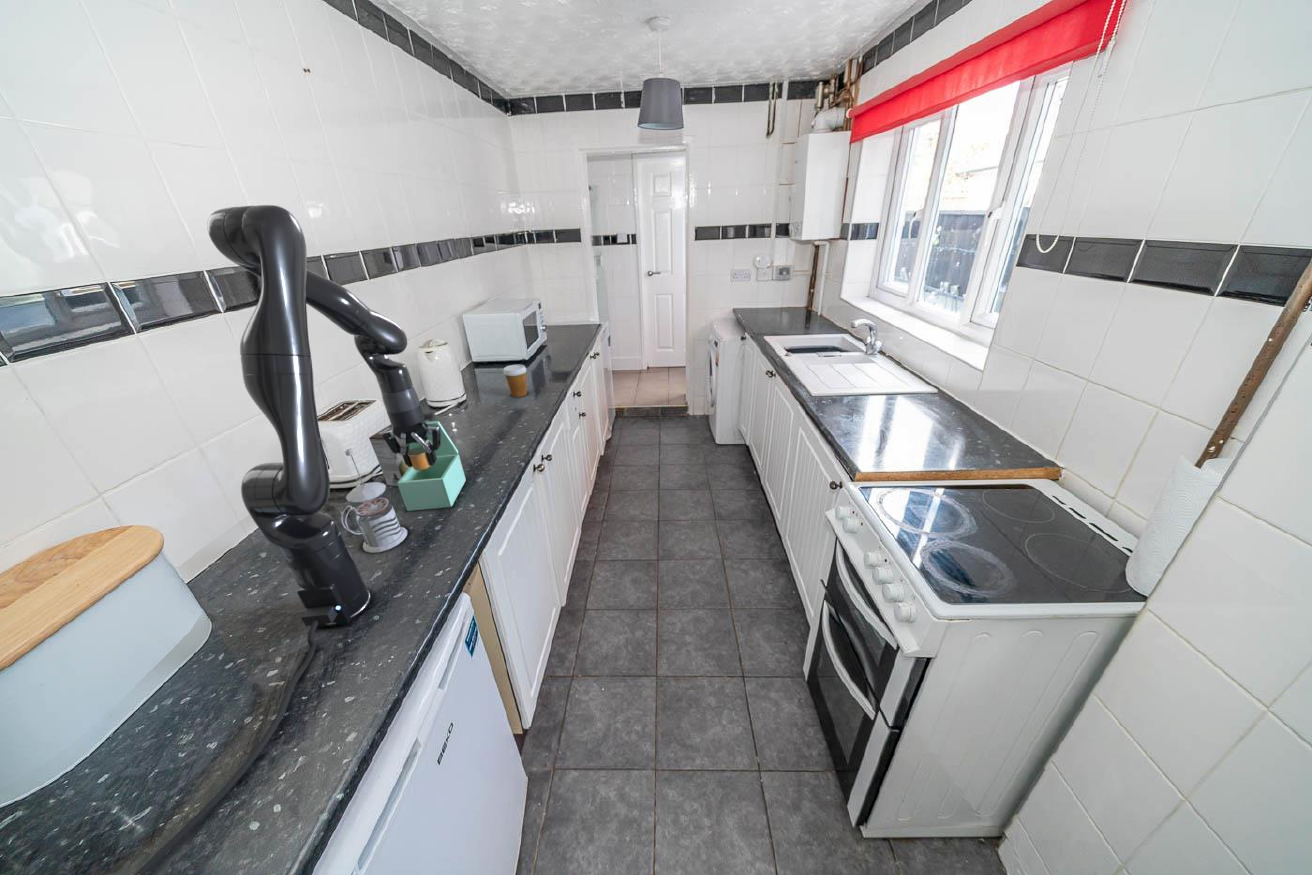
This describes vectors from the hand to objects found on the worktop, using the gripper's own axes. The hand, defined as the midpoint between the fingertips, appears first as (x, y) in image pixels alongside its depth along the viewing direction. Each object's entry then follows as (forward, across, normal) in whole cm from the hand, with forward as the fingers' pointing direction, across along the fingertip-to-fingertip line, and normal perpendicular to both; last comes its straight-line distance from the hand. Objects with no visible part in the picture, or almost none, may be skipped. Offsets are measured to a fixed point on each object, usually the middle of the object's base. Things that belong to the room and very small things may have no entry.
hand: (422, 464), depth 119 cm
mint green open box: (+12, 0, +3) cm, 12 cm away
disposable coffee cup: (+12, +9, +79) cm, 80 cm away
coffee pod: (0, 0, 0) cm, 0 cm away
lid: (-4, 0, +6) cm, 7 cm away
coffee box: (+12, -13, +14) cm, 22 cm away
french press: (+12, -7, -16) cm, 21 cm away
